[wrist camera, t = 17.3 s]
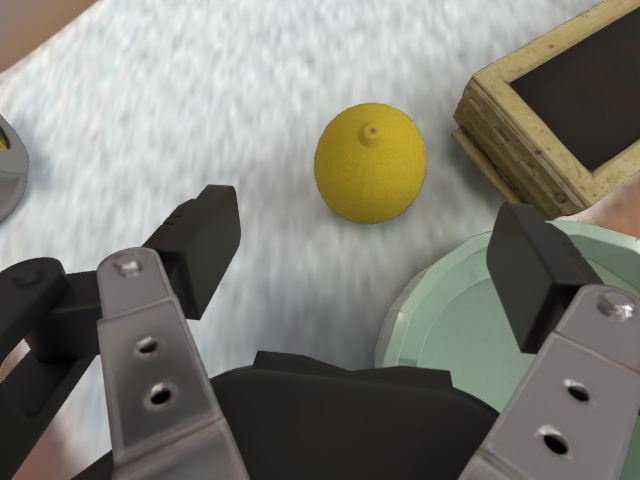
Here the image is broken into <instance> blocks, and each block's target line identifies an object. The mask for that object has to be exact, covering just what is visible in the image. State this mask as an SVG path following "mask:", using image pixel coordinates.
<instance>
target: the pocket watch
mask: <svg viewBox="0 0 640 480" xmlns="http://www.w3.org/2000/svg"><path fill="white" fill-rule="evenodd" d="M28 166H29V157H28V153H27V150H26V148H25V146H24V144H23V142H22V141H21V139H20V137H19V136H18V134H17V133H16V132H15V130H14V129H13V128H12V127H11V125H10V124H9V123H8V122H7V121H6V120H5V119H4V117H3V116H2V115H1V114H0V221H1V220H3V219H4V218H5V217H6V216H8V215H9V214H10V213H11V212H12V211H13V210H14V208H15V207H16V205H17V204H18V202H19V201H20V199H21V197H22V196H23V194H24V190H25V186H26V183H27V168H28Z"/></svg>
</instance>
